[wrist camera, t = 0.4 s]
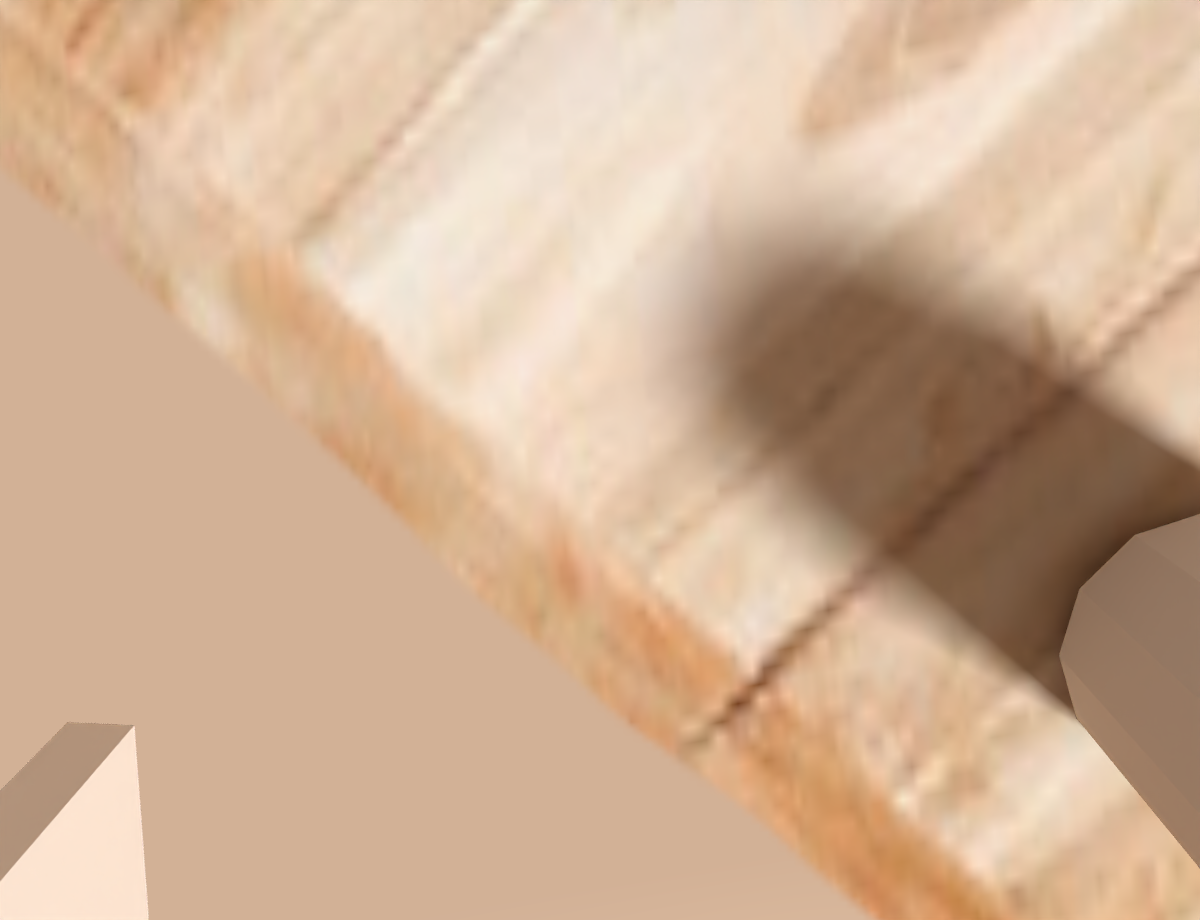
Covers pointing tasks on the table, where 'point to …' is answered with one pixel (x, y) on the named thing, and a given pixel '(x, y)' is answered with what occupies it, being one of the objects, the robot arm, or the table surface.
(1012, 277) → the table surface
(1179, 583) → the jar
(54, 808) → the robot arm
